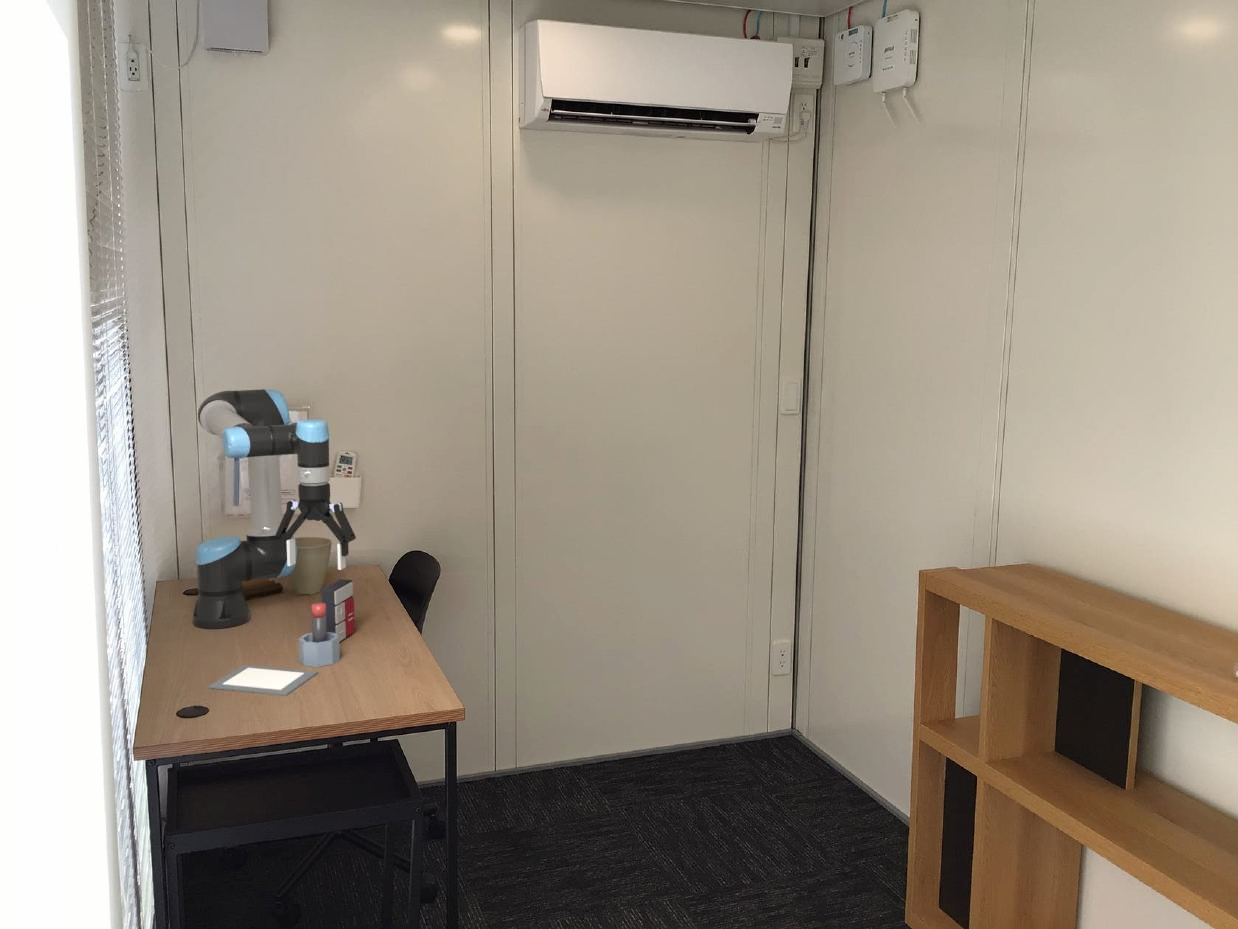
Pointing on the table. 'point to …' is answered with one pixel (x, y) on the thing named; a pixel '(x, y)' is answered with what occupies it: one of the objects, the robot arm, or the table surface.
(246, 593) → the pan flute
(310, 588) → the plant pot
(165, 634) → the table surface
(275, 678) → the writing pad
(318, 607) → the marker
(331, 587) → the grey and red block
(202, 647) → the table surface
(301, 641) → the pen cup
